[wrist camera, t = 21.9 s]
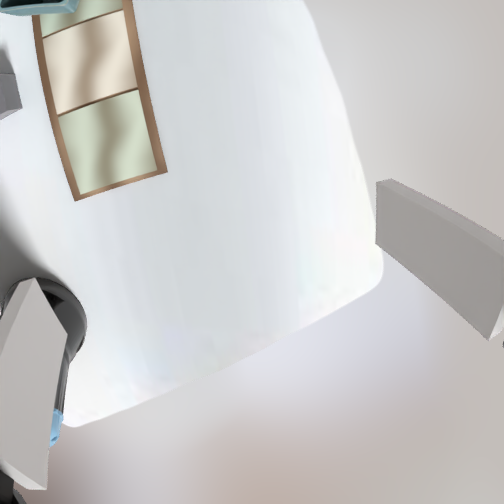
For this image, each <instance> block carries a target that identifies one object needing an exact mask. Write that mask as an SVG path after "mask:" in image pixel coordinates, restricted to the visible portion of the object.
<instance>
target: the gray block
mask: <svg viewBox="0 0 504 504" xmlns="http://www.w3.org/2000/svg"><path fill="white" fill-rule="evenodd" d="M20 109H22V104H21V100H20V95H19V91H18V86H17V82H16V77H15V74H4V73H0V120H1V119H3V118H5V117H7V116H9V115H10V114H12V113H14V112H16V111H18V110H20Z"/></svg>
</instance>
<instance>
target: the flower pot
mask: <svg viewBox="0 0 504 504" xmlns="http://www.w3.org/2000/svg"><path fill="white" fill-rule="evenodd" d="M79 1H80V0H0V12H1V13H6V14H11V15H16V16H28V15H39V14H59V13H74V12H75V11H76V10H77V7H78V4H79Z"/></svg>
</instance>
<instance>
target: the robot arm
mask: <svg viewBox="0 0 504 504" xmlns="http://www.w3.org/2000/svg"><path fill="white" fill-rule="evenodd" d="M376 192H377V194H376V196H377V197H376V243H375V244H376V245H378V246H379V247H380V248H382V249H383V250H384V251H386V252H387V253H388V254H389V255H391V256H392V257H393V258H394V259H395V260H397V261H398V262H399V263H400V264H402V265H403V266H404V267H405V268H407V269H408V270H409V271H410V272H411V273H413V274H414V275H415V276H416V277H417V278H418V279H420V280H421V281H422V282H423V283H424V284H425V285H427V286H428V287H429V288H430V289H431V290H433V291H434V292H435V293H436V294H437V295H438V296H440V297H441V298H442V299H443V300H444V301H445V302H446V303H447V304H449V305H450V306H451V307H452V308H453V309H454V310H455V311H456V312H457V313H459V314H460V315H461V316H462V317H463V318H464V319H465V320H466V321H468V323H470V324H471V325H472V326H473V327H474V328H475V329H476V330H477V331H478V332H479V333H480V334H481V335H482V336H483V337H484V338H486V339H487V340H488V341H489V340H490V339H492V338H493V337H494V336H495V335H497V334H498V333H499V332H501V331H502V329H503V326H504V240H502V239H501V238H500V237H498V236H497V235H495V234H493V233H492V232H490V231H489V230H487V229H485V228H483V227H482V226H480V225H478V224H477V223H475V222H473V221H471V220H470V219H468V218H466V217H464V216H463V215H461V214H459V213H457V212H455V211H454V210H452V209H450V208H448V207H446V206H444V205H443V204H441V203H439V202H437V201H435V200H433V199H431V198H429V197H427V196H425V195H423V194H422V193H420V192H418V191H415V190H414V189H411V188H409V187H407V186H405V185H403V184H401V183H399V182H397V181H395V180H393V179H388V180H383V181H379V182H377V183H376ZM86 330H87V319H86V315H85V312H84V310H83V308H82V306H81V304H80V303H79V301H78V300H77V299H76V298H75V296H74V295H73V294H72V293H70V292H69V291H68V290H67V289H65V288H64V287H63V286H61V285H59V284H57V283H55V282H53V281H50V280H47V279H43V278H27V279H23V280H21V281H19V282H17V283H15V284H14V285H13V286H12V287H11V288H10V290H9V291H8V293H7V295H6V297H5V299H4V301H3V305H2V311H1V315H0V504H26V502H25V501H24V499H23V497H22V496H21V495H20V494H19V492H18V491H17V490H15V489H14V488H13V484H14V481H16V482H17V483H19V484H20V485H22V486H23V487H25V488H27V489H37V490H47V474H48V457H49V447H51V446H52V445H54V444H55V443H56V442H57V440H58V438H59V433H60V427H61V422H62V421H63V409H64V400H65V391H66V383H67V376H68V369H69V364H70V363H71V361H72V360H73V358H74V357H75V355H76V353H77V352H78V351H79V350H80V348H81V347H82V345H83V343H84V340H85V336H86ZM503 348H504V342H503Z"/></svg>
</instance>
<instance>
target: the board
mask: <svg viewBox="0 0 504 504" xmlns="http://www.w3.org/2000/svg"><path fill="white" fill-rule="evenodd" d="M32 23H33V32H34V39H35V46H36V53H37V59H38V65H39V71H40V76H41V81H42V86H43V91H44V96H45V100H46V105H47V109H48V113H49V117H50V121H51V125H52V129H53V133H54V137H55V140H56V144H57V147H58V151H59V154H60V158H61V161H62V164H63V168H64V171H65V174H66V177H67V180H68V183H69V186H70V189H71V192H72V195H73V198H74V201H78V200H81V199H84V198H87V197H90V196H93V195H95V194H98V193H101V192H104V191H107V190H110V189H114V188H117V187H120V186H123V185H126V184H129V183H133V182H136V181H139V180H142V179H146V178H149V177H153V176H156V175H160V174H163V173H167V172H168V171H167V167H166V163H165V159H164V155H163V151H162V147H161V143H160V138H159V134H158V130H157V126H156V121H155V117H154V112H153V108H152V103H151V99H150V94H149V89H148V85H147V80H146V75H145V70H144V65H143V60H142V55H141V49H140V44H139V39H138V33H137V27H136V22H135V16H134V10H133V4H132V0H80V1H79V4H78V7H77V10H76V11H75V12H74V13H59V14H39V15H32Z"/></svg>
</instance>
